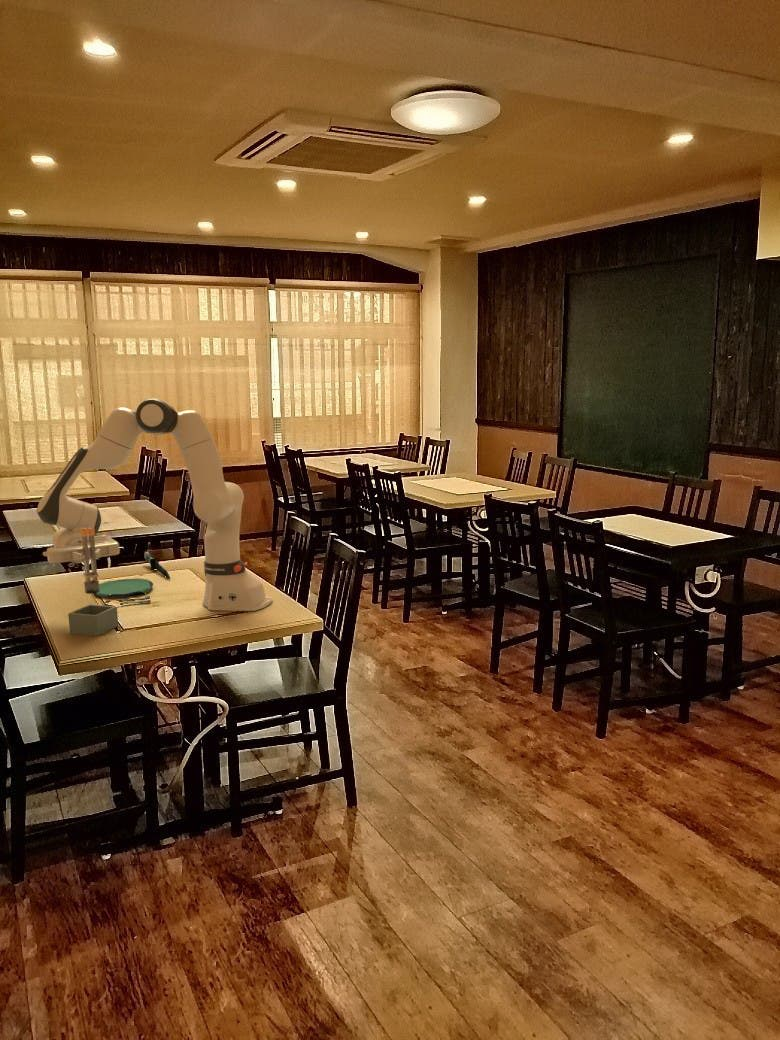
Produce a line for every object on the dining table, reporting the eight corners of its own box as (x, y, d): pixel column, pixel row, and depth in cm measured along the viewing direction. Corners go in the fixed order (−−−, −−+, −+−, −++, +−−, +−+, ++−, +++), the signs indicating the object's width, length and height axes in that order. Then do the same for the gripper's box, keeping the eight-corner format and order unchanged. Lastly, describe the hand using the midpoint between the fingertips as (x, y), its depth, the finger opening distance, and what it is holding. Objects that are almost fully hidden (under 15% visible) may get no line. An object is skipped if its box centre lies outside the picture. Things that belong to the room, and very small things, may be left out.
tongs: (97, 589, 237) (92, 526, 234) (101, 592, 234) (96, 528, 230) (83, 591, 235) (78, 528, 231) (87, 594, 232) (82, 530, 228)
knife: (143, 561, 315) (143, 550, 314) (151, 560, 317) (150, 549, 315) (163, 586, 290) (162, 574, 288) (171, 585, 291) (171, 573, 290)
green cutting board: (151, 581, 290) (151, 575, 289) (157, 604, 262) (156, 598, 262) (93, 587, 283) (93, 581, 283) (93, 612, 256) (92, 605, 255)
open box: (118, 625, 239) (116, 606, 238) (97, 636, 230) (96, 616, 229) (91, 623, 242) (89, 604, 240) (69, 633, 233) (68, 613, 231)
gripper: (40, 542, 236) (51, 550, 225) (110, 533, 248) (124, 541, 237) (42, 563, 237) (53, 572, 226) (111, 553, 249) (125, 562, 238)
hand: (90, 556), depth 232 cm, fingers closed on tongs, 3 cm apart
